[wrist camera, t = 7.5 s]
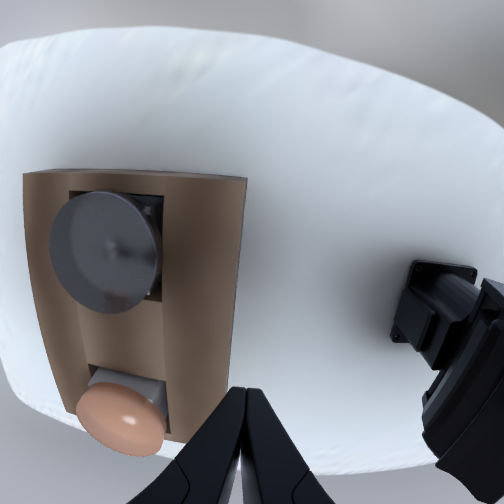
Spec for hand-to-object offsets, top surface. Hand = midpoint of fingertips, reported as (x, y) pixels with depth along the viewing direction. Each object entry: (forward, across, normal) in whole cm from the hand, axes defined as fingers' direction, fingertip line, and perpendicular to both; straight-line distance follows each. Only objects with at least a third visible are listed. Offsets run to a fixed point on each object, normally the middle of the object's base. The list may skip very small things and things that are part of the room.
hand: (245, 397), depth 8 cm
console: (+12, +8, +5) cm, 15 cm away
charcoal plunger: (+12, +8, -1) cm, 14 cm away
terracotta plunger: (+11, +8, +11) cm, 17 cm away
